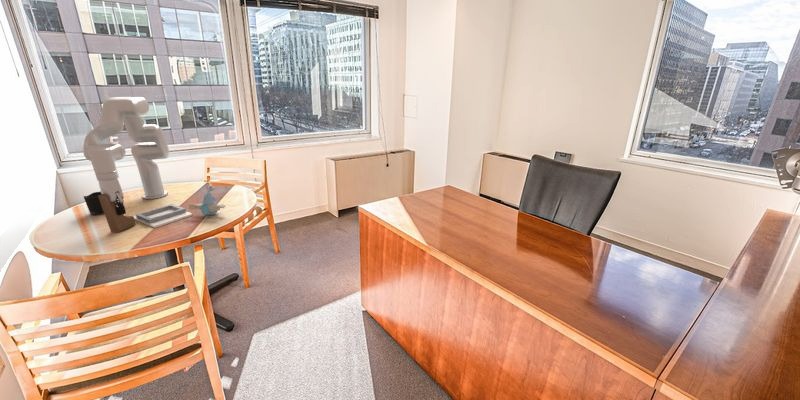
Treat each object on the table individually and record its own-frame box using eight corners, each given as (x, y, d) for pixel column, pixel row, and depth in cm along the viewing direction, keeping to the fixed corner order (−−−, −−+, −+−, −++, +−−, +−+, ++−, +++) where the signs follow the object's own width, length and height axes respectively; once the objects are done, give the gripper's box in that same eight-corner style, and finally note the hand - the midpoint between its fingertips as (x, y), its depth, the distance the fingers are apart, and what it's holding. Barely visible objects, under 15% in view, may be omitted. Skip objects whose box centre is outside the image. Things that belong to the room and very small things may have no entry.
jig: (131, 218, 168) (130, 213, 167) (169, 207, 183) (168, 202, 182) (154, 228, 158) (153, 222, 157) (192, 215, 173) (191, 210, 172)
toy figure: (232, 211, 178) (227, 184, 173) (220, 219, 169) (215, 191, 163) (203, 209, 180) (197, 183, 175) (190, 217, 170) (183, 189, 165)
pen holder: (88, 212, 175) (82, 194, 172) (111, 207, 182) (105, 190, 178) (90, 217, 169) (84, 198, 166) (114, 212, 176) (108, 194, 172)
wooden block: (128, 223, 161) (116, 188, 155) (136, 224, 161) (124, 189, 154) (110, 232, 153) (97, 195, 147) (118, 232, 152) (105, 195, 146)
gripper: (88, 174, 148) (100, 212, 155) (105, 180, 140) (118, 219, 147) (108, 170, 154) (119, 206, 161) (126, 176, 147) (137, 214, 153)
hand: (118, 212), depth 154 cm, fingers closed on wooden block, 5 cm apart
